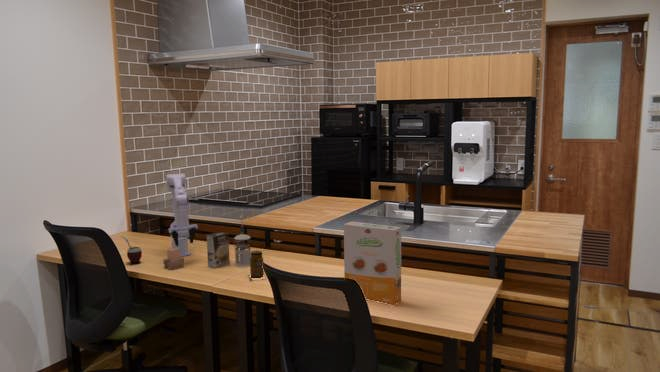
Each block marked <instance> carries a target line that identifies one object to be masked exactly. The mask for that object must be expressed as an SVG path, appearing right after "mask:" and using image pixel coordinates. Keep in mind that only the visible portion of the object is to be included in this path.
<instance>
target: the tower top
mask: <svg viewBox="0 0 660 372" xmlns="http://www.w3.org/2000/svg"><path fill="white" fill-rule="evenodd" d="M164 264H165V265H168V266H176V265H179V264H185V259H184V257H182V256H181V257H180V259H177V260H169V259H168V257H167V258H163V265H164Z"/></svg>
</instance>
